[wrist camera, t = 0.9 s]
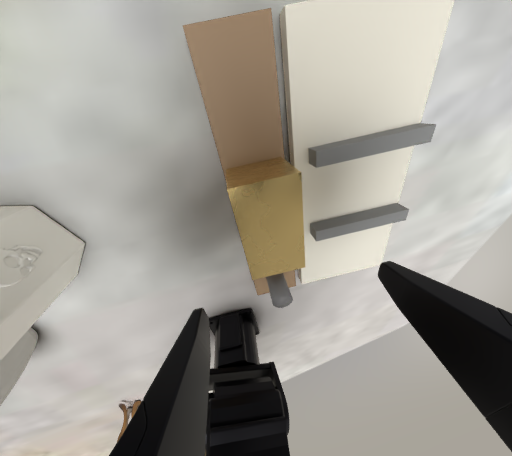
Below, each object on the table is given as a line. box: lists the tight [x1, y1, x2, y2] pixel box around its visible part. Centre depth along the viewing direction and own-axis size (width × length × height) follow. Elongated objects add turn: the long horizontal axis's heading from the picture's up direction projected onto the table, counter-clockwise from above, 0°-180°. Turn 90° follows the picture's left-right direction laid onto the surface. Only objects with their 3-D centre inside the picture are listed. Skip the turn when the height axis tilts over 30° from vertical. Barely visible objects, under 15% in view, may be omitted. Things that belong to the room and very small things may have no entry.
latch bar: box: [226, 157, 305, 280], centre depth 15 cm, size 8×4×4 cm, turn 10°
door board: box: [183, 0, 454, 308], centre depth 16 cm, size 24×16×5 cm
